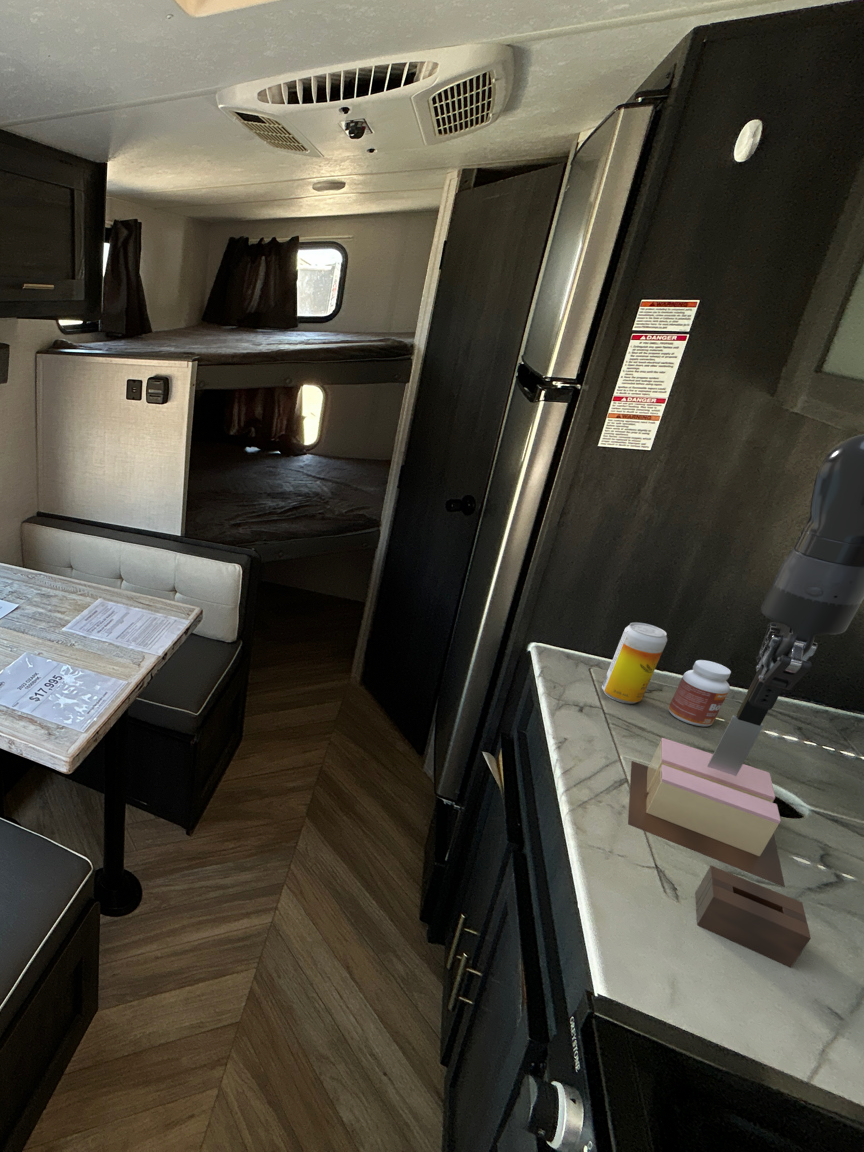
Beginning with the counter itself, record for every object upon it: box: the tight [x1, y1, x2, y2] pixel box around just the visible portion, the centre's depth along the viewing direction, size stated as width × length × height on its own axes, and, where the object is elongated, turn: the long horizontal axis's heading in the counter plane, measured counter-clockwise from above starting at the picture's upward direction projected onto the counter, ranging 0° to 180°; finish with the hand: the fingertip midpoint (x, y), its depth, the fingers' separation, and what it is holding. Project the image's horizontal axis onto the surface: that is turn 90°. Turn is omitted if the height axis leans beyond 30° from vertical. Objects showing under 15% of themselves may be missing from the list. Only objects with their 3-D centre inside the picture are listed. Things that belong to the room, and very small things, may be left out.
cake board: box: [627, 760, 786, 888], centre depth 94 cm, size 16×18×1 cm
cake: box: [647, 737, 776, 803], centre depth 95 cm, size 12×7×7 cm, turn 49°
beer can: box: [601, 622, 668, 705], centre depth 120 cm, size 6×6×15 cm
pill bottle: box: [668, 659, 732, 727], centre depth 115 cm, size 6×6×11 cm
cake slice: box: [646, 765, 782, 856], centre depth 91 cm, size 12×4×7 cm, turn 49°
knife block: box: [694, 865, 812, 969], centre depth 76 cm, size 8×6×6 cm
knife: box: [707, 666, 769, 776], centre depth 87 cm, size 3×2×17 cm, turn 49°
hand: (758, 702), depth 86 cm, fingers closed on knife, 1 cm apart
